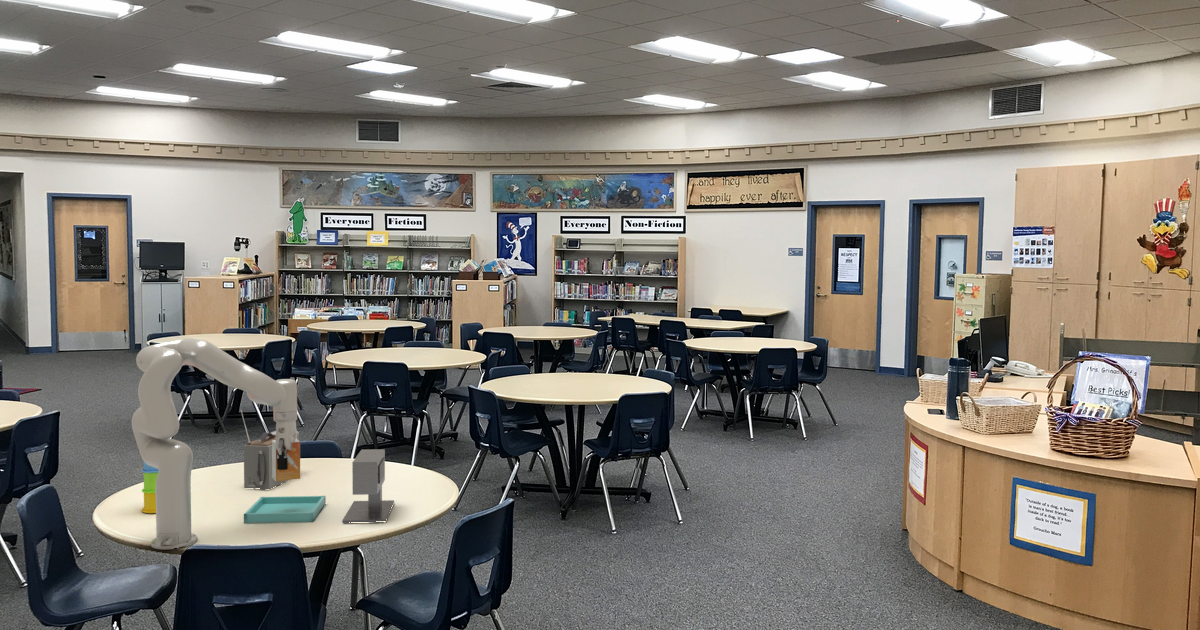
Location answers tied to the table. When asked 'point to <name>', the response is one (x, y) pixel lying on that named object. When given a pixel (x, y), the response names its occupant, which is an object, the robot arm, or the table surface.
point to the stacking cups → (149, 488)
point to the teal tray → (285, 509)
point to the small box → (293, 463)
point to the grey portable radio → (259, 462)
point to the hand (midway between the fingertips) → (286, 465)
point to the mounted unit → (369, 488)
